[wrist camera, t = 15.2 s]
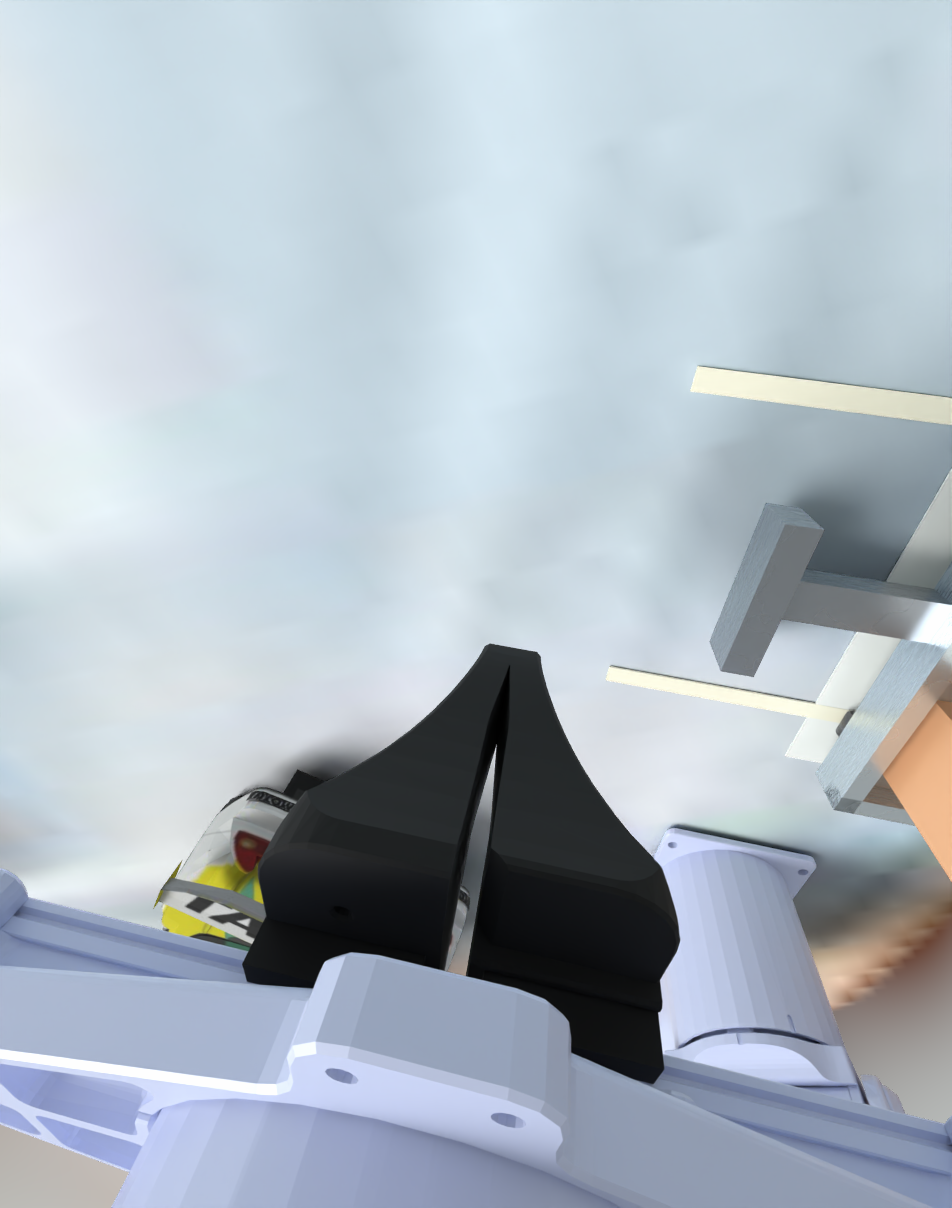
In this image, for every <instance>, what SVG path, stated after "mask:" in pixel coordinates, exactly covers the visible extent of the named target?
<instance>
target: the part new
mask: <svg viewBox="0 0 952 1208" xmlns="http://www.w3.org/2000/svg"><path fill="white" fill-rule="evenodd" d="M883 776H884V777H885V779H886V780H887V782H888V783H889V785H890V787H891V788H892V790H893V791H894V793H895V794H896V796H897V797H898V799H899V801H900V802H901V804H902V805H903V807H904V808H905V810H906V812H907V813H908V815H909V816H910V818H911V819H912V821H913V822H914V824H915V826H916V827H917V829H918V830H919V832H920V833H921V835H922V837H923V838H924V840H925V841H926V843H927V844H928V846H929V847H930V849H931V851H932V852H933V854H934V855H935V857H936V858H937V860H938V862H939V863H940V865H941V866H942V868H943V869H944V871H945V872H946V874H947V876H948V877H949V879H950V880H951V882H952V702H947V701H941V700H937V702H936V703H935V704H934V706H933V707H932V708H931V710H930V711H929V712H928V714H927V715H926V716H925V718H924V719H923V720H922V722H921V723H920V724H919V726H918V727H917V729H916V730H915V731H914V733H913V734H912V735H911V737H910V738H909V739H908V741H907V742H906V743H905V745H904V746H903V747H902V749H901V750H900V751H899V753H898V754H897V755H896V757H895V758H894V760H893V761H892V762H891V764H890V765H889V766H888V768H887V769H886V770H885V772H884V773H883Z"/></svg>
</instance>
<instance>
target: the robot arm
mask: <svg viewBox="0 0 952 1208" xmlns="http://www.w3.org/2000/svg"><path fill="white" fill-rule="evenodd" d="M496 744H497V747H496ZM495 748H496V760H495V774H494V787H493V801H492V814H491V825H490V834H489V841H488V847H487V853H486V859H485V865H484V871H483V877H482V883H481V889H480V895H479V901H478V907H477V913H476V919H475V925H474V931H473V937H472V943H471V949H470V955H469V960H468V966H467V972H466V976H463V975H459V974H455V973H450V972H446V971H445V967H446V961H447V956H448V951H449V946H450V940H451V935H452V930H453V925H454V919H455V914H456V909H457V904H458V898H459V893H460V888H461V883H462V878H463V872H464V867H465V862H466V857H467V852H468V847H469V841H470V836H471V832H472V828H473V824H474V820H475V816H476V813H477V809H478V806H479V802H480V799H481V796H482V792H483V789H484V785H485V782H486V778H487V775H488V772H489V768H490V765H491V761H492V758H493V754H494V751H495ZM816 867H817V865H816V863H815V860H814V858H812V857H811V856H808V855H803V854H799V853H794V852H789V851H784V850H779V849H774V848H769V847H765V846H760V845H755V844H750V843H745V842H740V841H736V840H731V839H726V838H721V837H716V836H711V835H707V834H702V833H697V832H692V831H687V830H682V829H678V828H671V829H668V830H667V831H666V832H665V834H664V836H663V838H662V841H661V843H660V845H659V847H658V849H657V851H656V854H655V856H654V858H653V857H652V856H651V855H650V854H649V853H648V852H647V851H646V850H645V849H644V848H643V847H642V845H641V844H640V843H639V842H638V841H637V840H636V839H635V838H634V837H633V836H632V835H631V834H630V833H629V831H628V830H627V829H626V828H625V826H624V825H623V824H622V823H621V822H620V820H619V819H618V818H617V817H616V815H615V814H614V813H613V811H612V810H611V809H610V807H609V806H608V804H607V803H606V802H605V800H604V799H603V797H602V796H601V795H600V793H599V792H598V790H597V789H596V788H595V786H594V785H593V783H592V782H591V780H590V778H589V777H588V775H587V774H586V772H585V770H584V769H583V767H582V765H581V764H580V762H579V760H578V758H577V757H576V755H575V753H574V751H573V749H572V747H571V745H570V743H569V741H568V739H567V737H566V735H565V733H564V731H563V729H562V726H561V724H560V722H559V719H558V717H557V715H556V712H555V709H554V707H553V704H552V701H551V698H550V696H549V692H548V689H547V686H546V682H545V679H544V675H543V671H542V665H541V657H540V655H539V654H538V653H537V652H534V651H528V650H522V649H517V648H511V647H506V646H500V645H495V644H488V645H486V646H485V647H484V649H483V651H482V653H481V654H480V656H479V658H478V659H477V661H476V662H475V663H474V665H473V666H472V667H471V669H470V670H469V671H468V673H467V674H466V675H465V676H464V678H463V679H462V680H461V681H460V682H459V684H458V685H457V686H456V687H455V688H454V689H453V690H452V692H451V693H450V694H449V695H448V696H447V697H446V698H445V699H444V700H443V701H442V702H441V703H440V704H439V705H438V706H437V707H436V708H435V709H434V710H433V711H432V712H431V713H430V714H428V715H427V716H426V717H425V718H424V719H423V720H422V721H421V722H419V723H418V724H417V725H416V726H415V727H413V728H412V729H411V730H410V731H408V732H407V733H406V734H404V735H403V736H402V737H400V738H399V739H398V740H396V741H395V742H394V743H392V744H391V745H389V746H388V747H387V748H385V749H384V750H382V751H381V752H379V753H377V754H376V755H374V756H372V757H371V758H369V759H367V760H366V761H364V762H362V763H361V764H359V765H357V766H356V767H354V768H352V769H351V770H349V771H347V772H345V773H343V774H341V775H339V776H337V777H335V778H333V779H331V780H329V781H327V782H324V783H322V784H320V785H318V786H316V787H314V788H312V789H309V790H307V791H305V792H304V794H303V795H302V796H301V797H300V799H299V800H298V801H297V802H296V804H295V805H294V806H293V807H292V809H291V810H290V812H289V813H288V814H287V816H286V817H285V818H284V820H283V821H282V822H281V824H280V826H279V827H278V829H277V830H276V832H275V834H274V836H273V838H272V840H271V841H270V843H269V845H268V847H267V849H266V851H265V852H264V854H263V856H262V858H261V860H260V862H259V864H258V880H259V885H260V889H261V894H262V899H263V904H264V909H265V913H266V917H265V919H264V921H263V923H262V925H261V927H260V929H259V931H258V933H257V935H256V937H255V939H254V941H253V943H252V945H251V947H250V949H249V951H244V950H240V949H236V948H232V947H228V946H224V945H220V944H216V943H212V942H208V941H204V940H200V939H196V938H192V937H187V936H183V935H179V934H175V933H171V932H167V931H163V930H159V929H155V928H151V927H147V926H143V925H139V924H135V923H131V922H127V921H123V920H119V919H115V918H111V917H107V916H102V915H98V914H94V913H90V912H86V911H82V910H78V909H74V908H70V907H66V906H62V905H58V904H54V903H50V902H46V901H42V900H38V899H34V898H30V897H28V893H27V890H26V888H25V886H24V884H23V883H22V881H21V880H20V879H19V878H18V877H17V876H16V875H14V874H13V873H11V872H9V871H8V870H5V869H2V868H0V1125H3V1126H6V1127H8V1128H11V1129H14V1130H16V1131H19V1132H22V1133H25V1134H27V1135H30V1136H33V1137H35V1138H38V1139H41V1140H44V1141H46V1142H49V1143H52V1144H54V1145H57V1146H60V1147H62V1148H65V1149H68V1150H70V1151H73V1152H76V1153H78V1154H81V1155H84V1156H87V1157H89V1158H92V1159H95V1160H97V1161H100V1162H103V1163H105V1164H108V1165H111V1166H113V1167H116V1168H119V1169H122V1170H124V1171H127V1172H129V1174H128V1176H127V1178H126V1180H125V1182H124V1184H123V1185H122V1187H121V1190H120V1191H119V1193H118V1195H117V1197H116V1199H115V1201H114V1203H113V1205H112V1207H111V1208H952V1116H951V1117H950V1118H949V1119H948V1120H947V1121H946V1123H945V1124H944V1123H940V1122H936V1121H932V1120H928V1119H924V1118H920V1117H916V1116H912V1115H908V1114H905V1112H904V1109H903V1107H902V1104H901V1102H900V1100H899V1097H898V1096H897V1094H895V1093H894V1092H893V1091H891V1090H890V1089H889V1088H888V1087H887V1086H885V1085H882V1084H881V1082H880V1080H879V1079H878V1077H876V1076H875V1075H861V1079H862V1083H863V1086H864V1088H863V1086H862V1084H861V1082H860V1080H859V1077H858V1075H857V1073H856V1071H855V1069H854V1067H853V1064H852V1062H851V1060H850V1058H849V1056H848V1053H847V1051H846V1049H845V1046H844V1043H843V1040H842V1037H841V1034H840V1032H839V1029H838V1026H837V1023H836V1020H835V1018H834V1015H833V1012H832V1009H831V1006H830V1004H829V1001H828V998H827V995H826V992H825V990H824V987H823V984H822V981H821V978H820V976H819V973H818V970H817V967H816V964H815V962H814V959H813V956H812V953H811V950H810V947H809V945H808V942H807V939H806V936H805V933H804V931H803V928H802V925H801V922H800V919H799V917H798V914H797V911H796V908H795V905H794V903H793V898H794V897H795V896H796V894H797V893H798V892H799V890H800V889H801V888H802V886H803V885H804V884H805V882H806V881H807V880H808V878H809V877H810V876H811V874H812V873H813V872H814V870H815V869H816ZM864 1089H865V1090H864ZM865 1092H866V1093H865Z"/></svg>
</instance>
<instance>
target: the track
mask: <svg viewBox="0 0 952 1208" xmlns="http://www.w3.org/2000/svg"><path fill="white" fill-rule="evenodd" d="M690 391H691V392H699V393H707V394H714V395H722V396H730V397H738V398H745V399H753V400H761V401H769V402H776V403H784V404H792V405H800V406H807V407H815V408H823V409H830V410H838V411H846V412H854V413H861V414H869V415H877V416H885V417H892V418H900V419H908V420H916V421H923V422H931V423H939V424H947V425H952V398H949V397H941V396H933V395H925V394H917V393H909V392H901V391H893V390H885V389H877V388H869V387H861V386H853V385H845V384H837V383H829V382H821V381H813V380H805V379H797V378H789V377H781V376H773V375H765V374H757V373H749V372H741V371H733V370H725V369H717V368H709V367H701V366H697V370H696V373H695V376H694V380H693V383H692V387H691V390H690ZM951 562H952V468H951V470H950V472H949V474H948V475H947V477H946V479H945V480H944V482H943V484H942V486H941V487H940V489H939V491H938V492H937V494H936V496H935V498H934V499H933V501H932V503H931V505H930V506H929V508H928V510H927V511H926V513H925V515H924V517H923V518H922V520H921V522H920V523H919V525H918V527H917V529H916V530H915V532H914V534H913V535H912V537H911V539H910V541H909V542H908V544H907V546H906V548H905V549H904V551H903V553H902V554H901V556H900V558H899V560H898V561H897V563H896V565H895V566H894V568H893V570H892V572H891V573H890V575H889V577H888V578H887V580H886V582H892V583H899V584H905V585H912V586H918V587H924V588H931V589H934V588H935V587H936V585H937V583H938V582H939V580H940V579H941V577H942V576H943V574H944V573H945V571H946V569H947V568H948V566H949V565H950V563H951ZM900 641H901V639H898V638H892V637H886V636H880V635H874V634H868V633H862V632H856V633H855V635H854V637H853V639H852V640H851V642H850V644H849V645H848V647H847V649H846V651H845V652H844V654H843V656H842V658H841V659H840V661H839V663H838V664H837V666H836V668H835V670H834V671H833V673H832V675H831V676H830V678H829V680H828V682H827V683H826V685H825V687H824V688H823V690H822V692H821V694H820V695H819V697H818V699H817V701H816V702H815V703H813V702H807V701H802V700H796V699H790V698H785V697H779V696H774V695H768V694H763V693H757V692H752V691H746V690H741V689H735V688H729V687H724V686H718V685H713V684H707V683H702V682H696V681H691V680H685V679H679V678H674V677H668V676H663V675H657V674H652V673H646V672H641V671H635V670H629V669H624V668H618V667H613V666H609V669H608V673H607V676H606V680H607V681H612V682H618V683H623V684H628V685H634V686H639V687H645V688H650V689H656V690H661V691H667V692H672V693H678V694H683V695H689V696H694V697H700V698H705V699H710V700H716V701H721V702H727V703H732V704H738V705H743V706H749V707H754V708H760V709H765V710H771V711H776V712H782V713H787V714H793V715H798V716H803V717H807V718H806V719H805V721H804V723H803V725H802V726H801V728H800V730H799V731H798V733H797V735H796V737H795V738H794V740H793V742H792V743H791V745H790V747H789V749H788V750H787V752H786V754H785V756H786V757H791V758H796V759H802V760H807V761H812V762H817V763H822V762H823V761H824V759H825V758H826V756H827V755H828V753H829V752H830V750H831V748H832V747H833V745H834V744H835V742H836V741H837V739H838V738H839V736H838V735H837V734H836V728H837V727H838V725H839V724H840V722H841V720H842V719H843V717H844V716H845V714H846V712H848V711H856V710H857V708H858V706H859V705H860V703H861V702H862V700H863V699H864V697H865V695H866V694H867V692H868V691H869V689H870V688H871V686H872V685H873V683H874V681H875V680H876V678H877V677H878V675H879V674H880V672H881V671H882V669H883V667H884V666H885V664H886V663H887V661H888V660H889V658H890V657H891V655H892V653H893V652H894V650H895V649H896V647H897V646H898V644H899V643H900Z"/></svg>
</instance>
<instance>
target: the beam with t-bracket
mask: <svg viewBox="0 0 952 1208" xmlns="http://www.w3.org/2000/svg"><path fill="white" fill-rule="evenodd" d="M823 532H824V529H823V528H822V527H821V526H820V525H819V524H818V523H817V522H816V521H815V520H813V519H812V518H811V517H810V516H809V515H808V514H807V513H806V512H805V511H804V510H803V509H802V508H796V507H789V506H783V505H776V504H769V503H766V504H765V507H764V509H763V512H762V514H761V517H760V519H759V522H758V524H757V526H756V529H755V531H754V534H753V536H752V539H751V541H750V544H749V546H748V549H747V551H746V553H745V556H744V558H743V561H742V563H741V566H740V568H739V571H738V573H737V575H736V578H735V580H734V583H733V585H732V588H731V590H730V593H729V595H728V598H727V600H726V602H725V605H724V607H723V610H722V612H721V615H720V617H719V620H718V622H717V625H716V627H715V629H714V632H713V634H712V637H711V639H710V644H711V647H712V649H713V652H714V655H715V657H716V660H717V662H718V665H719V668H720V670H721V671H722V672H728V673H734V674H739V675H745V676H751V677H754V675H755V673H756V671H757V669H758V667H759V665H760V663H761V661H762V658H763V656H764V654H765V652H766V650H767V648H768V646H769V644H770V642H771V640H772V638H773V636H774V634H775V632H776V629H777V627H778V625H779V623H780V621H781V619H784V620H790V621H796V622H802V623H808V624H814V625H820V626H826V627H832V628H838V629H844V630H850V631H856V632H862V633H868V634H874V635H880V636H886V637H892V638H898V639H901V641H900V643H899V644H898V646H897V647H896V649H895V650H894V652H893V653H892V655H891V657H890V658H889V660H888V661H887V663H886V664H885V666H884V667H883V669H882V671H881V672H880V674H879V675H878V677H877V678H876V680H875V681H874V683H873V685H872V686H871V688H870V689H869V691H868V692H867V694H866V695H865V697H864V699H863V700H862V702H861V703H860V705H859V706H858V708H857V710H856V711H848V712H846V714H845V716H844V717H843V719H842V720H841V722H840V724H839V725H838V727H837V728H836V734H837V735H838V736H839V738H838V739H837V741H836V742H835V744H834V745H833V747H832V748H831V750H830V752H829V753H828V755H827V756H826V758H825V759H824V761H823V762H822V764H821V766H820V767H819V769H818V770H817V772H816V775H817V777H818V779H819V781H820V783H821V785H822V787H823V789H824V791H825V793H826V795H827V797H828V799H829V801H830V803H831V805H832V807H833V809H834V810H837V811H842V812H847V813H852V814H857V815H863V816H868V817H873V818H878V819H883V820H888V821H893V822H898V823H903V824H908V825H913V826H915V824H914V822H913V821H912V819H911V818H910V816H909V815H908V813H907V812H906V810H905V808H904V807H903V805H902V804H901V802H900V801H899V799H898V797H897V796H896V794H895V793H894V791H893V790H892V788H891V787H890V785H889V783H888V782H887V780H886V779H885V777H884V776H883V773H884V772H885V770H886V769H887V768H888V766H889V765H890V764H891V762H892V761H893V760H894V758H895V757H896V755H897V754H898V753H899V751H900V750H901V749H902V747H903V746H904V745H905V743H906V742H907V741H908V739H909V738H910V737H911V735H912V734H913V733H914V731H915V730H916V729H917V727H918V726H919V724H920V723H921V722H922V720H923V719H924V718H925V716H926V715H927V714H928V712H929V711H930V710H931V708H932V707H933V706H934V704H935V703H936V702H937V700H941V701H947V702H952V562H951V563H950V565H949V566H948V568H947V569H946V571H945V573H944V574H943V576H942V577H941V579H940V580H939V582H938V583H937V585H936V587H935V588H934V589H931V588H924V587H918V586H912V585H905V584H899V583H892V582H886V581H880V580H873V579H867V578H861V577H854V576H848V575H842V574H835V573H829V572H823V571H816V570H810V569H806V567H807V565H808V563H809V561H810V559H811V557H812V555H813V553H814V551H815V549H816V547H817V545H818V543H819V540H820V538H821V536H822V534H823Z"/></svg>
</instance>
